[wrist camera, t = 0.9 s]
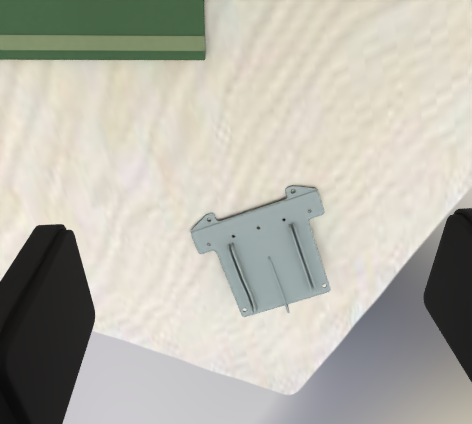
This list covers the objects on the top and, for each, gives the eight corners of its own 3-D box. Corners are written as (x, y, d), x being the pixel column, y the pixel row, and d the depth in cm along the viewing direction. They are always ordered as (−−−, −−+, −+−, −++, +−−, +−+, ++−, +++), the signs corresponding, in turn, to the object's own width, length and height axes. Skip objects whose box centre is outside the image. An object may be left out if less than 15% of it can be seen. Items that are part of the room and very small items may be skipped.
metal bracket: (353, 299, 46) (228, 336, 48) (342, 277, 52) (231, 311, 54) (316, 182, 43) (183, 226, 45) (309, 172, 48) (191, 212, 50)
